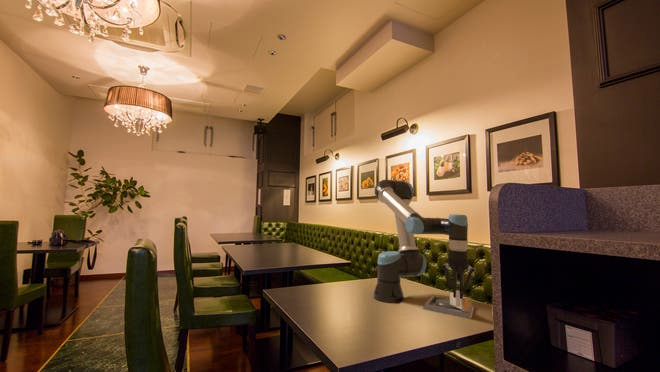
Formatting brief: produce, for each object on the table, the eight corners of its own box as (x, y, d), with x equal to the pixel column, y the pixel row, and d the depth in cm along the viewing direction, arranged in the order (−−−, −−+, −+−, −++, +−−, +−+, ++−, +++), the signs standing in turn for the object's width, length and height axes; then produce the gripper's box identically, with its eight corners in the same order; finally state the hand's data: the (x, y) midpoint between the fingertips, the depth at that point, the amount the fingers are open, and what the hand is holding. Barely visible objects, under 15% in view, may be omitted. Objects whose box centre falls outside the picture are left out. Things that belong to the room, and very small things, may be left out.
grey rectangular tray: (421, 311, 128) (421, 304, 129) (430, 301, 144) (430, 294, 144) (471, 321, 118) (471, 313, 119) (474, 309, 134) (474, 302, 134)
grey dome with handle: (430, 304, 135) (430, 288, 136) (450, 303, 138) (450, 287, 139) (456, 317, 119) (456, 299, 119) (477, 316, 122) (477, 298, 122)
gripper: (440, 249, 124) (440, 305, 122) (474, 252, 118) (474, 311, 115) (443, 247, 131) (443, 300, 129) (475, 250, 124) (475, 306, 122)
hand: (458, 305), depth 122 cm, fingers closed
